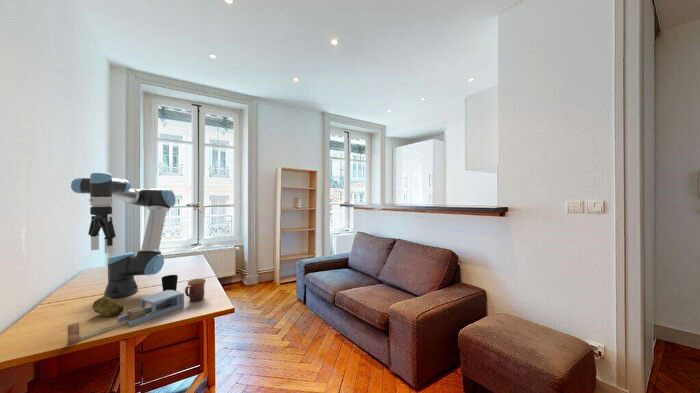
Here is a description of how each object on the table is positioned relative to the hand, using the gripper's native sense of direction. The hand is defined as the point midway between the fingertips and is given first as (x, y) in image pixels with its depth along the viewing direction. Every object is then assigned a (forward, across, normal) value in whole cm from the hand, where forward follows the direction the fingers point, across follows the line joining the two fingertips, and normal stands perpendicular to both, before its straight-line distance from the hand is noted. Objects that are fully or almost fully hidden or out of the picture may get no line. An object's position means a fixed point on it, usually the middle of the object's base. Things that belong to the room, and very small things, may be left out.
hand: (101, 251), depth 125 cm
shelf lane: (+32, +15, +13) cm, 37 cm away
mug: (+32, +18, +33) cm, 49 cm away
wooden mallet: (+32, +15, -4) cm, 35 cm away
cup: (+32, +2, +29) cm, 43 cm away
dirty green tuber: (+32, -3, +3) cm, 32 cm away
